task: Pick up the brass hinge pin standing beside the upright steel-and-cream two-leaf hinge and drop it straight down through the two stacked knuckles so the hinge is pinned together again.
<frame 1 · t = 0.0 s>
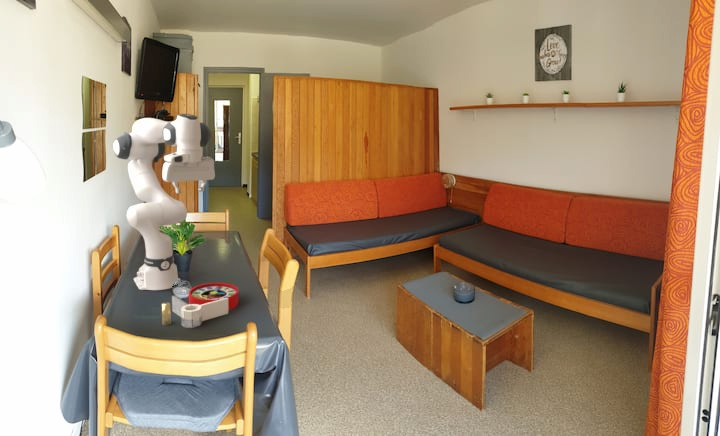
hand: (190, 192, 179), 48 cm above the table, tool pointing down, fingers open, 8 cm apart
hinge pin: (166, 323, 172), on the table
hinge leaf a: (191, 323, 173), on the table
toy clock: (214, 304, 193), on the table
hinge leaf b: (191, 323, 173), on the table
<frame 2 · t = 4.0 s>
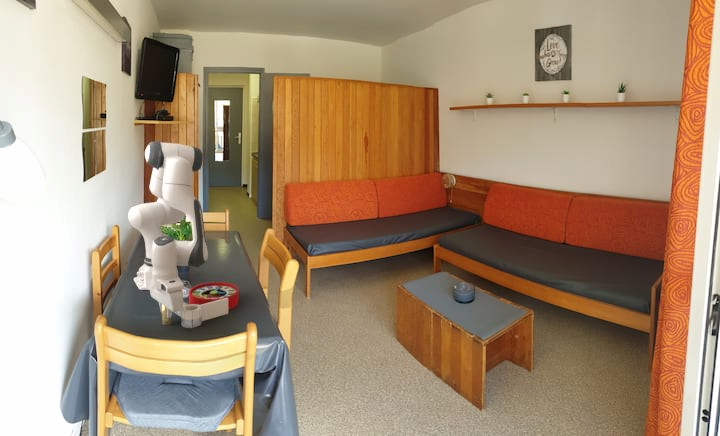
hand: (166, 314, 171), 4 cm above the table, tool pointing down, fingers closed on hinge pin, 3 cm apart
hinge pin: (166, 323, 172), on the table, touching gripper
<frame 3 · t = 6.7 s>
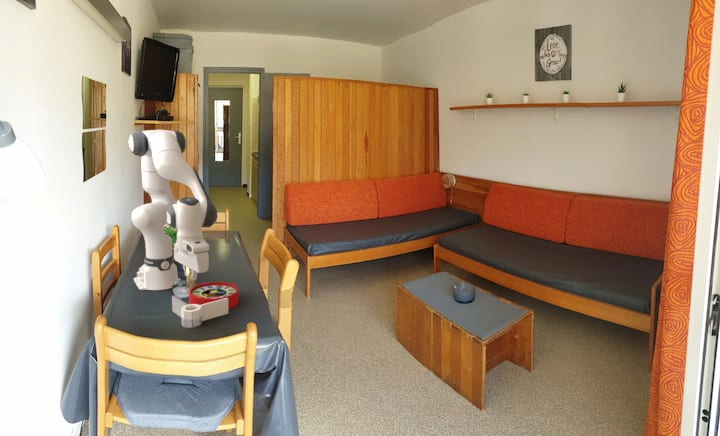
hand: (190, 277, 169), 18 cm above the table, tool pointing down, fingers closed on hinge pin, 3 cm apart
hinge pin: (191, 286, 170), point 15 cm above the table, touching gripper
when the fingers open (8 cm above the table, at t = 9.1 s): hinge pin drops 4 cm, resting in hinge leaf a.
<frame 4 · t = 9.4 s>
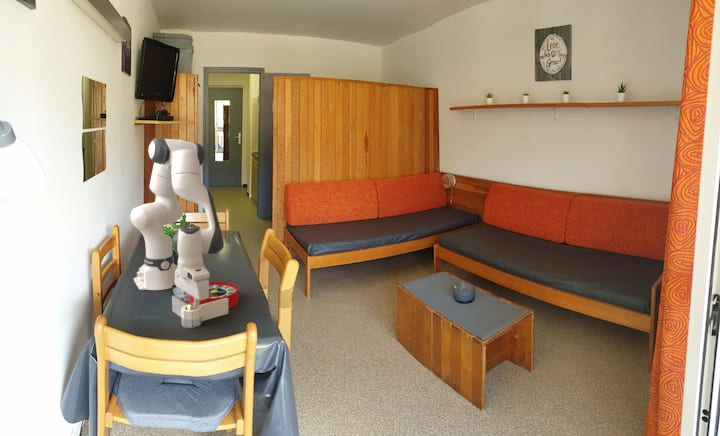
hand: (191, 303, 171), 8 cm above the table, tool pointing down, fingers open, 6 cm apart
hinge pin: (191, 323, 173), resting in hinge leaf a
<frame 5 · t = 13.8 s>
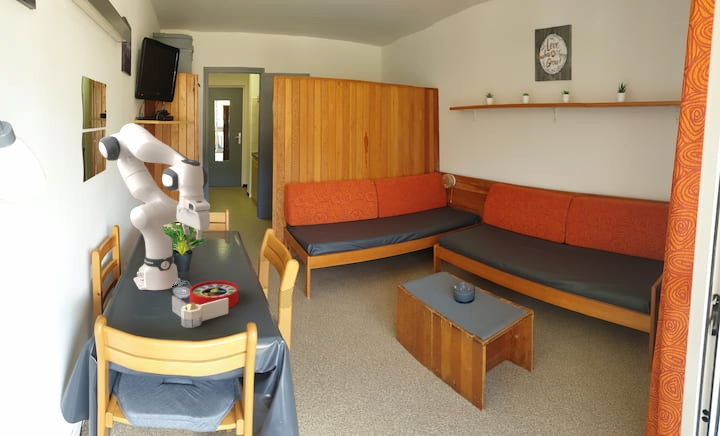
hand: (192, 237, 177), 31 cm above the table, tool pointing down, fingers open, 8 cm apart
at the end: hinge pin 0.1 cm from the hinge leaf a (horizontally); hinge pin resting in hinge leaf a; hinge pin tilted 1° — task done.
